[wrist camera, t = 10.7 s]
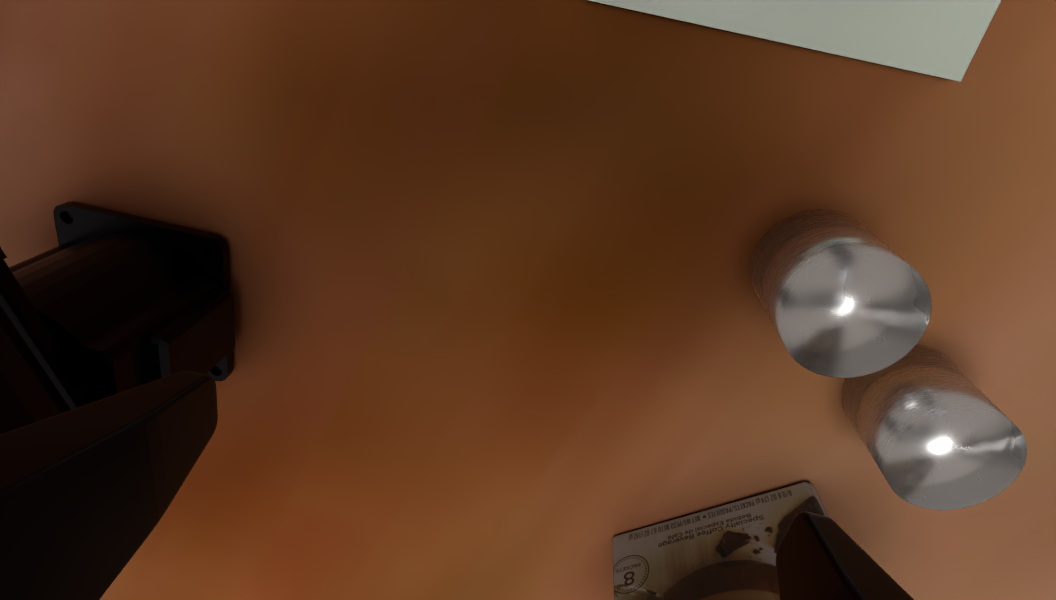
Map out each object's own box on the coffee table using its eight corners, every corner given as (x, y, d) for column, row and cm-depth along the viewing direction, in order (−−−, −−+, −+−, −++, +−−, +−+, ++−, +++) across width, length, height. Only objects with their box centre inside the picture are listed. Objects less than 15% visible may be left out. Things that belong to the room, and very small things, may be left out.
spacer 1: (734, 303, 22) (760, 361, 18) (775, 197, 20) (814, 239, 16) (842, 326, 21) (890, 390, 18) (894, 223, 20) (959, 271, 16)
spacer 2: (823, 420, 23) (864, 494, 20) (869, 333, 21) (922, 397, 18) (924, 442, 23) (983, 521, 20) (978, 357, 21) (1054, 427, 18)
